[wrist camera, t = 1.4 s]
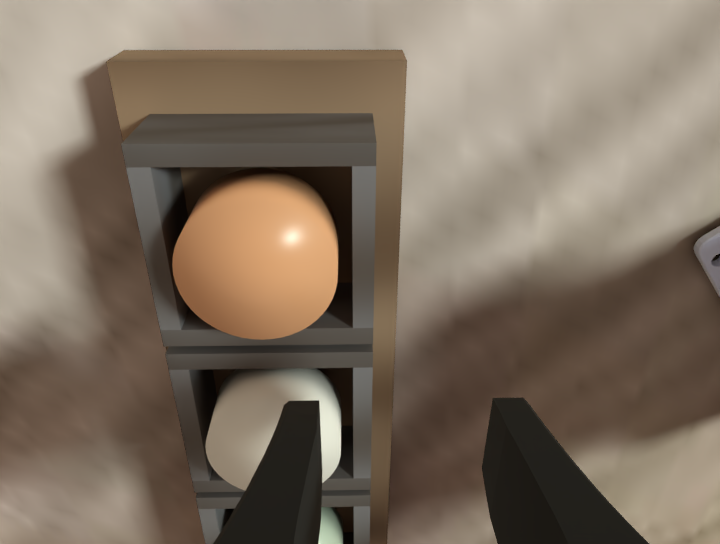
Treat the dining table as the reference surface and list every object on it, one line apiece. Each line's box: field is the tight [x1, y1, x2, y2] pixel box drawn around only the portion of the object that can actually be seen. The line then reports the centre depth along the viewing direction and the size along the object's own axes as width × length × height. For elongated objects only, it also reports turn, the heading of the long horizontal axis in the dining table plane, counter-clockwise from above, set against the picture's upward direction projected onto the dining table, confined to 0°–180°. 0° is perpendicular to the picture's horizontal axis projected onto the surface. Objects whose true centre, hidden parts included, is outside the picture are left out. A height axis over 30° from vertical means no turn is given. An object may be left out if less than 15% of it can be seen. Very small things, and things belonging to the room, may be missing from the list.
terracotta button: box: [172, 168, 339, 340], centre depth 16 cm, size 4×4×2 cm
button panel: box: [106, 50, 407, 544], centre depth 21 cm, size 22×8×4 cm, turn 0°
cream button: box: [205, 368, 341, 490], centre depth 20 cm, size 4×4×2 cm
